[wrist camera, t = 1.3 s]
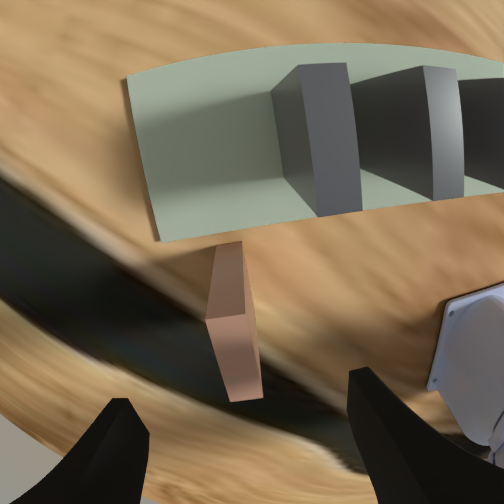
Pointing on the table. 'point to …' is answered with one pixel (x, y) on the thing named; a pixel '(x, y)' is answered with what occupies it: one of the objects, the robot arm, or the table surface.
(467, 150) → the domino
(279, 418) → the table surface
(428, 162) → the domino
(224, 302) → the tile
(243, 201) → the mat
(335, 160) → the domino
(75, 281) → the table surface
